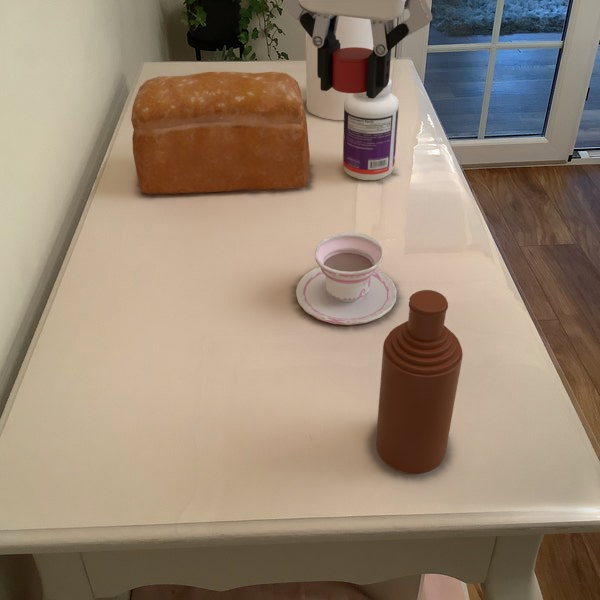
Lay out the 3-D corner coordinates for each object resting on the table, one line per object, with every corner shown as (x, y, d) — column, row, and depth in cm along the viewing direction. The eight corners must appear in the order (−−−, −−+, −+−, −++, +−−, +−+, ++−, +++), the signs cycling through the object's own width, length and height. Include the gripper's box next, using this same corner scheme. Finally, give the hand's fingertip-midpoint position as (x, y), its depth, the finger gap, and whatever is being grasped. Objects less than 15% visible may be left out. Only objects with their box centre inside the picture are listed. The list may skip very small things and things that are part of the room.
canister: (336, 87, 134) (338, -21, 122) (392, 103, 127) (400, -10, 115) (291, 108, 126) (288, -6, 114) (349, 126, 119) (352, 7, 107)
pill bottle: (360, 155, 110) (363, 67, 101) (403, 167, 106) (410, 77, 97) (332, 174, 105) (333, 83, 96) (377, 188, 101) (382, 94, 92)
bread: (147, 158, 110) (130, 62, 101) (306, 152, 111) (305, 56, 102) (136, 200, 99) (116, 97, 90) (312, 192, 100) (311, 89, 91)
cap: (381, 83, 65) (383, 50, 63) (363, 96, 62) (364, 61, 60) (344, 78, 67) (344, 45, 65) (324, 89, 64) (324, 55, 62)
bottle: (453, 431, 63) (479, 287, 53) (435, 483, 59) (460, 336, 48) (387, 411, 65) (400, 269, 55) (366, 460, 61) (375, 314, 50)
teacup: (385, 335, 74) (389, 290, 71) (282, 316, 77) (280, 272, 74) (404, 274, 83) (408, 231, 80) (311, 259, 86) (311, 218, 83)
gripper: (476, -138, 53) (448, 89, 64) (286, -144, 59) (291, 66, 70) (451, -128, 48) (425, 118, 59) (245, -135, 54) (257, 90, 65)
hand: (352, 87), depth 64 cm, fingers closed on cap, 4 cm apart
